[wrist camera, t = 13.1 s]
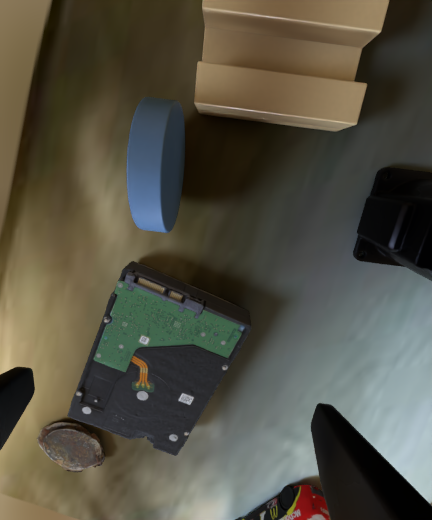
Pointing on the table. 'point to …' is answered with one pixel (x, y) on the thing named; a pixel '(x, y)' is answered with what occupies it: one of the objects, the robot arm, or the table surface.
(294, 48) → the rack
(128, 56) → the table surface
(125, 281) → the disk drive
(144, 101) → the blue disc
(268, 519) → the race car
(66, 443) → the decorative disc
